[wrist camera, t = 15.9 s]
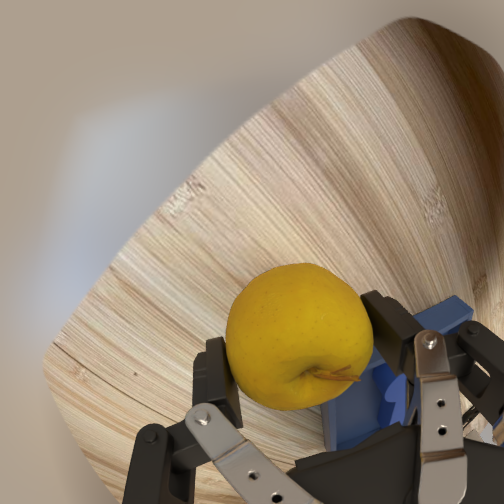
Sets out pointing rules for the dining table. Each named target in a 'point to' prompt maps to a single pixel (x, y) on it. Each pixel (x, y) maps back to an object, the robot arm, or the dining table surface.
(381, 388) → the spoon
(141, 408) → the dining table surface
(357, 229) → the dining table surface
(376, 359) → the blue tray
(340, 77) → the dining table surface
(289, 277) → the apple
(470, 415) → the knife
